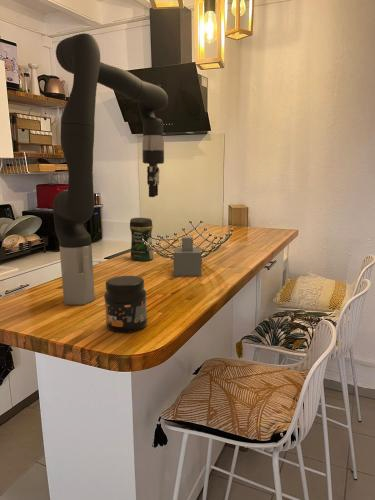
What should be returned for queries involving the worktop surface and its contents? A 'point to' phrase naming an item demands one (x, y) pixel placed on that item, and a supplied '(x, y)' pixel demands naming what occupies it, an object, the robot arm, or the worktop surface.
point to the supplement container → (125, 303)
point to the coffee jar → (137, 245)
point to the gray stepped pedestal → (187, 258)
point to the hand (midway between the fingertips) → (153, 196)
